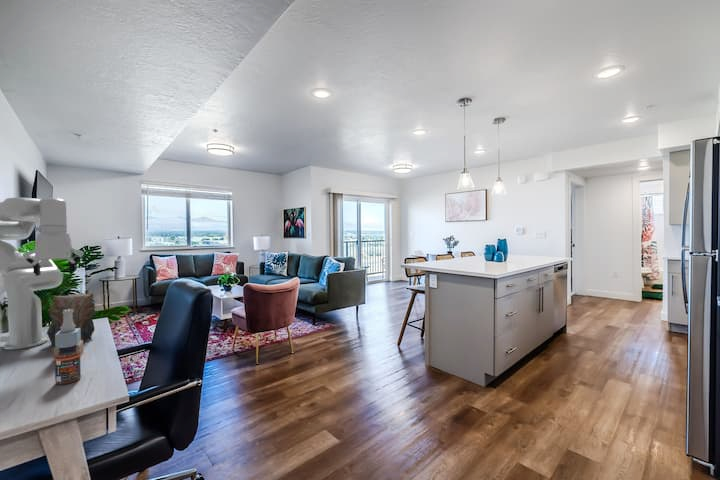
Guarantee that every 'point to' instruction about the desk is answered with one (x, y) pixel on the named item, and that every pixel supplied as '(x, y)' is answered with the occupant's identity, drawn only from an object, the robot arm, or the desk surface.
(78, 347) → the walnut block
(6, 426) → the desk surface
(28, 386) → the desk surface
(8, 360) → the desk surface
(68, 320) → the rook chess piece
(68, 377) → the supplement bottle
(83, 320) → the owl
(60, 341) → the slate block
